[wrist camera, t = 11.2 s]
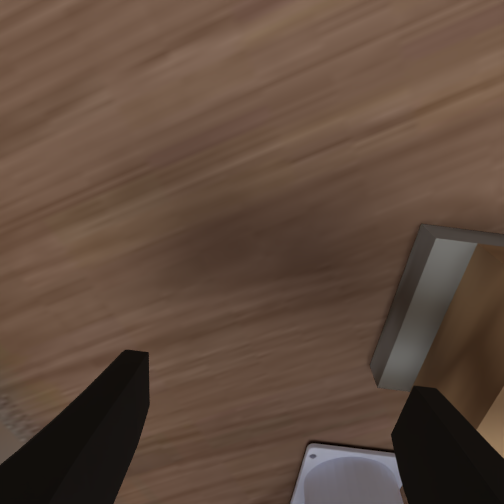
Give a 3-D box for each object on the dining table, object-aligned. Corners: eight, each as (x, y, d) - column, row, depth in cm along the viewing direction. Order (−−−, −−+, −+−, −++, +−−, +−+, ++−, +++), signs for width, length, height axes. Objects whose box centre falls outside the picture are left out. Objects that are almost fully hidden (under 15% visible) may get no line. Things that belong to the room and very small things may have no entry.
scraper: (474, 376, 23) (550, 489, 17) (369, 363, 23) (406, 471, 17) (551, 239, 18) (696, 322, 12) (419, 222, 18) (497, 297, 12)
